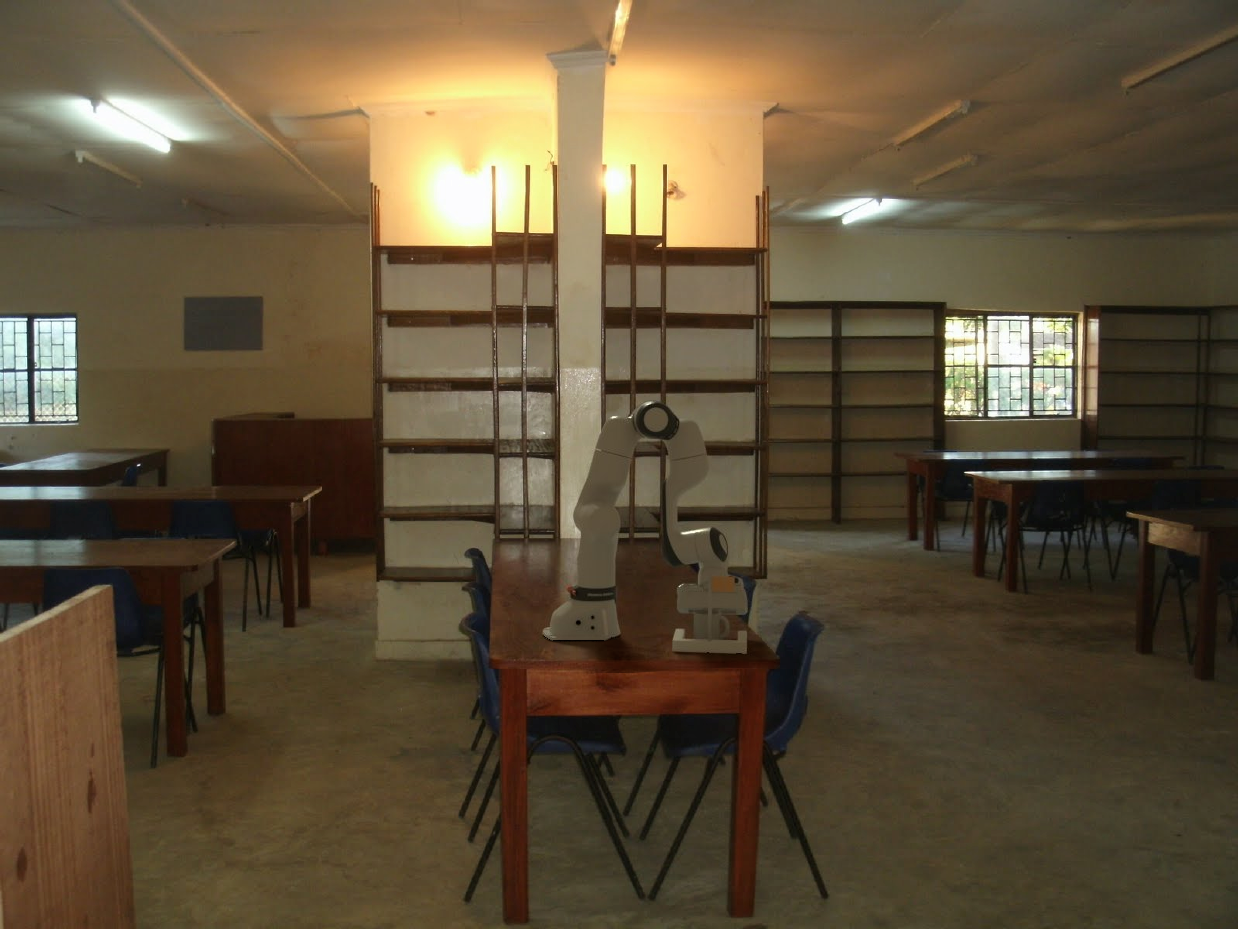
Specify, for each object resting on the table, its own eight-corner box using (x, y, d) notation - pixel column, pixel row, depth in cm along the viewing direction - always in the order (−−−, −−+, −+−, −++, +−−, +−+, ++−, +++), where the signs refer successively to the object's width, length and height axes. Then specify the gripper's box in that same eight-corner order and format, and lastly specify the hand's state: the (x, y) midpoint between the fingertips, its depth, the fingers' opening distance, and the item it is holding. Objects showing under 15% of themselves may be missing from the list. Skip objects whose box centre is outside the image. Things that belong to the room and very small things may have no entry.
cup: (692, 640, 305) (692, 609, 304) (727, 640, 305) (728, 609, 304) (694, 646, 298) (695, 614, 297) (730, 646, 298) (731, 614, 297)
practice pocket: (675, 639, 306) (676, 565, 305) (746, 641, 304) (747, 567, 303) (672, 651, 292) (672, 574, 291) (746, 653, 290) (747, 576, 288)
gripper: (676, 577, 313) (674, 617, 304) (747, 579, 310) (747, 620, 301) (677, 589, 318) (675, 630, 309) (747, 591, 315) (747, 632, 306)
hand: (711, 625), depth 305 cm, fingers closed
